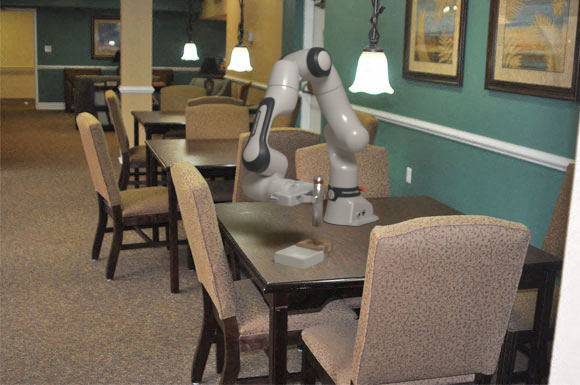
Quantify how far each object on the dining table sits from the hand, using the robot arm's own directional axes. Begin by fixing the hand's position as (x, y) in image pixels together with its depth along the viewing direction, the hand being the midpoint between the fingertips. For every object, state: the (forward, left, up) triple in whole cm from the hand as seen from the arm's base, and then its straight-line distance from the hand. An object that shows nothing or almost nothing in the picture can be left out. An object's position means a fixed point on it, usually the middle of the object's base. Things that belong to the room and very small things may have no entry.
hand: (320, 198), depth 208 cm
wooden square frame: (+1, -1, -19) cm, 19 cm away
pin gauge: (0, -1, -9) cm, 9 cm away
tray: (+9, +2, -19) cm, 21 cm away
